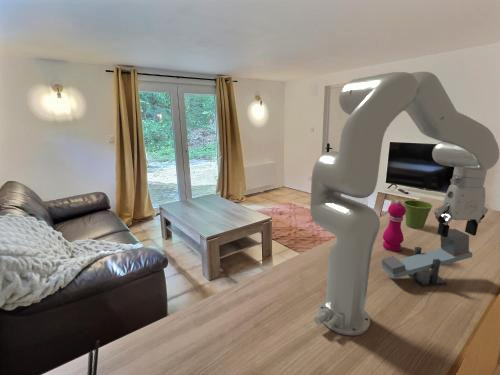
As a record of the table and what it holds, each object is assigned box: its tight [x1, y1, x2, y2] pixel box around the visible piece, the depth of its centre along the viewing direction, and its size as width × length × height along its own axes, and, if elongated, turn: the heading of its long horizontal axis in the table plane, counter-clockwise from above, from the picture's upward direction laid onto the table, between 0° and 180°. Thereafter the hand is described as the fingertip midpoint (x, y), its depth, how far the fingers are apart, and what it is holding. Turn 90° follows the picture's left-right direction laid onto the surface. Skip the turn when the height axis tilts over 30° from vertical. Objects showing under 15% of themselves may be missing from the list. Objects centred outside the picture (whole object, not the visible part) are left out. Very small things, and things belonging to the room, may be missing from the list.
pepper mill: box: [382, 199, 406, 252], centre depth 103 cm, size 7×7×20 cm
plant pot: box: [403, 199, 434, 230], centre depth 124 cm, size 12×12×11 cm
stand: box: [408, 246, 448, 288], centre depth 85 cm, size 8×10×8 cm
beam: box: [381, 247, 473, 279], centre depth 84 cm, size 26×6×4 cm, turn 96°
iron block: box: [440, 228, 470, 256], centre depth 84 cm, size 5×5×6 cm
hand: (456, 234), depth 83 cm, fingers open, 9 cm apart
